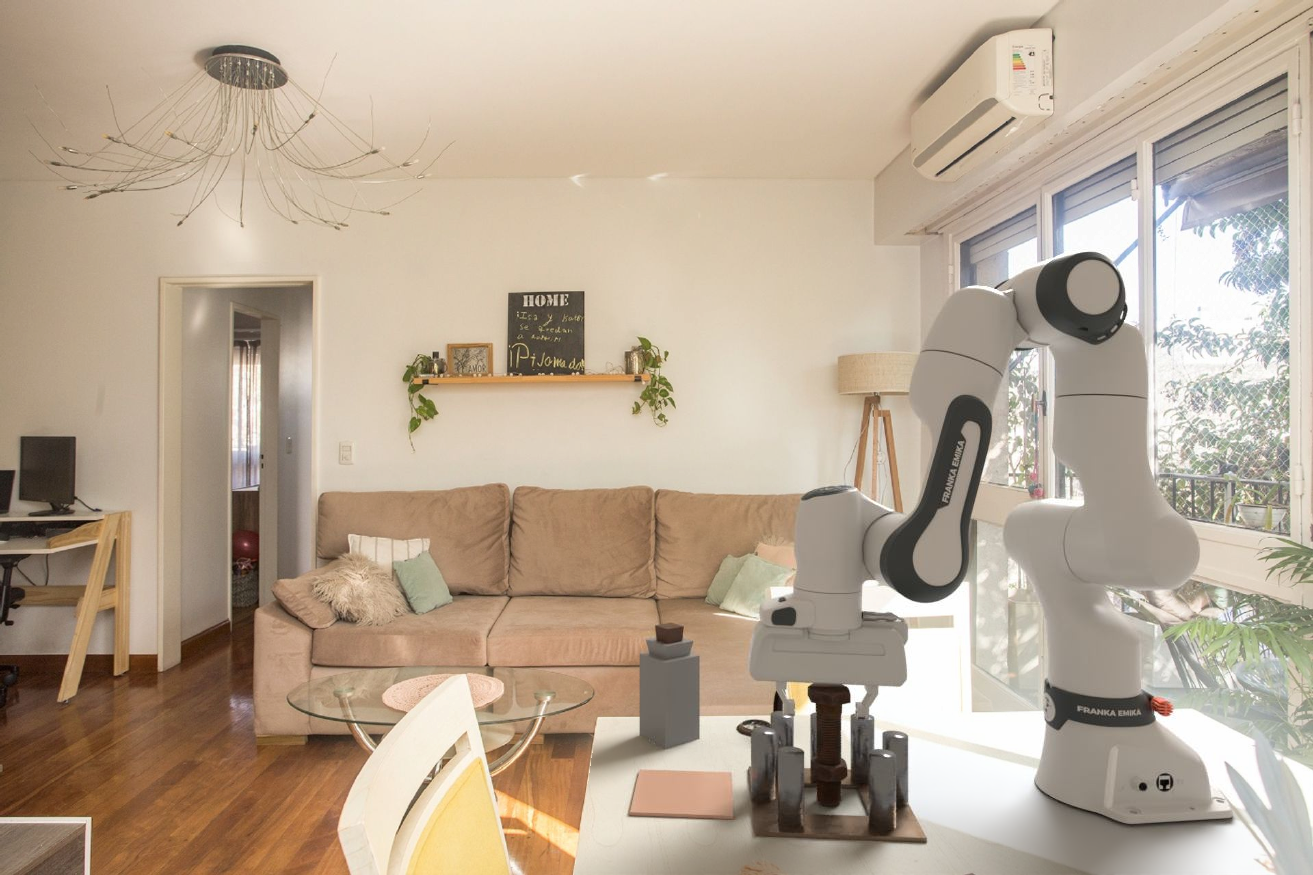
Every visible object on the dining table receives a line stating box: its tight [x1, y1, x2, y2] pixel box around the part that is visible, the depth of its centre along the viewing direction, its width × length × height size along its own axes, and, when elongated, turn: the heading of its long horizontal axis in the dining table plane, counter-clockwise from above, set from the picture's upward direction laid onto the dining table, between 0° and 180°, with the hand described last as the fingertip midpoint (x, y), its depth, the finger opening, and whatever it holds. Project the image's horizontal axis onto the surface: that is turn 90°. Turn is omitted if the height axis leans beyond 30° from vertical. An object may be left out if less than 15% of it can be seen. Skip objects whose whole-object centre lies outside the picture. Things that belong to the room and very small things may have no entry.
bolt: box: [807, 683, 852, 807], centre depth 103 cm, size 6×5×15 cm
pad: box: [629, 769, 734, 820], centre depth 105 cm, size 13×13×1 cm
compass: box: [736, 690, 787, 737], centre depth 127 cm, size 8×8×7 cm
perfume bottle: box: [639, 622, 701, 750], centre depth 124 cm, size 7×7×18 cm
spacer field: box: [748, 711, 928, 843], centre depth 103 cm, size 20×19×9 cm
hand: (825, 716), depth 103 cm, fingers open, 8 cm apart
